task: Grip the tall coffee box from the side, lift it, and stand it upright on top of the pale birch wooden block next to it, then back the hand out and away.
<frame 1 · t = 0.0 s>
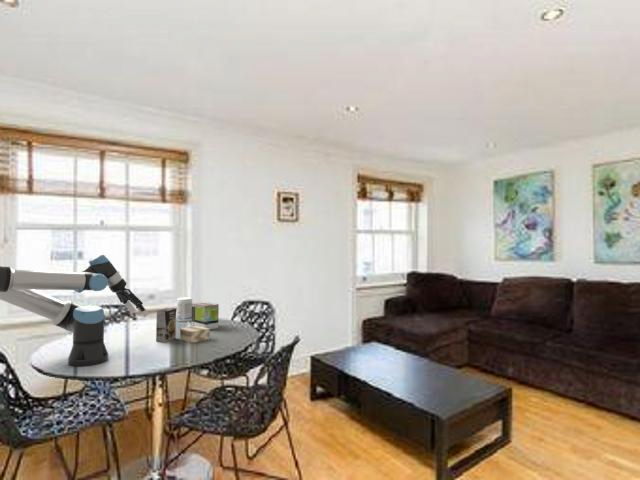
hand: (140, 313, 206), 15 cm above the table, tool tilted 35°, fingers open, 13 cm apart
tea box: (204, 327, 245), on the table
birch block: (194, 339, 216), on the table
coffee box: (166, 340, 215), on the table
supplement tub: (184, 320, 266), on the table
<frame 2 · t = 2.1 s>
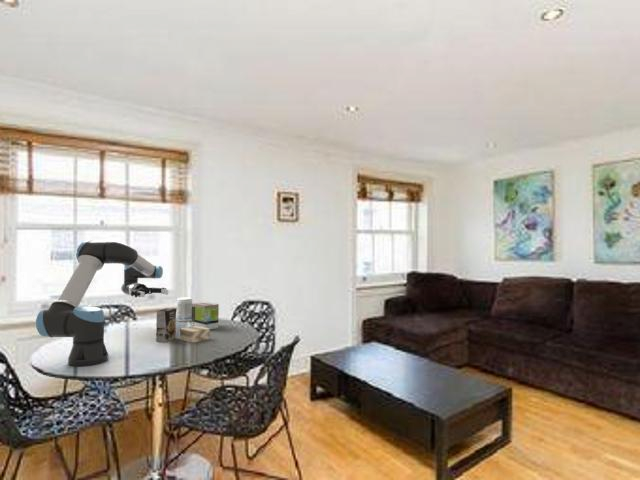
hand: (156, 293, 222), 24 cm above the table, tool horizontal, fingers open, 13 cm apart
nothing on the table moved.
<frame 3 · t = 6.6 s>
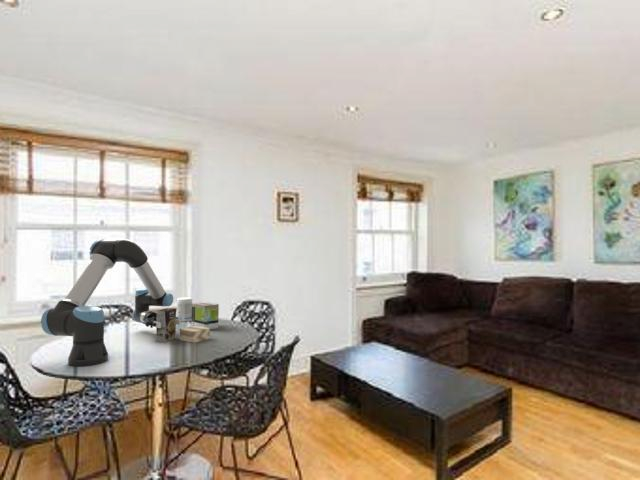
hand: (170, 323, 212), 9 cm above the table, tool horizontal, fingers closed on coffee box, 11 cm apart
coffee box: (166, 340, 215), on the table, touching gripper
everything else where it was.
when the fingers open (16 cm above the table, at t = 11.5 s): coffee box drops 2 cm, resting on birch block.
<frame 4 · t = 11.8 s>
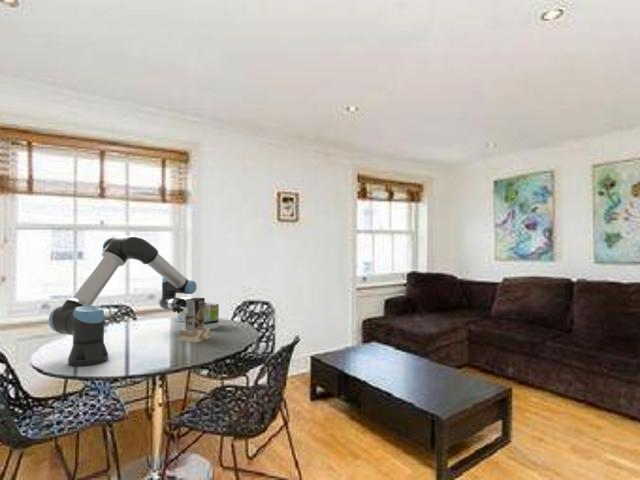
hand: (198, 309, 214), 16 cm above the table, tool horizontal, fingers open, 13 cm apart
birch block: (195, 339, 216), on the table, touching coffee box
coffee box: (195, 328, 216), point 6 cm above the table, touching birch block
everything else where it was.
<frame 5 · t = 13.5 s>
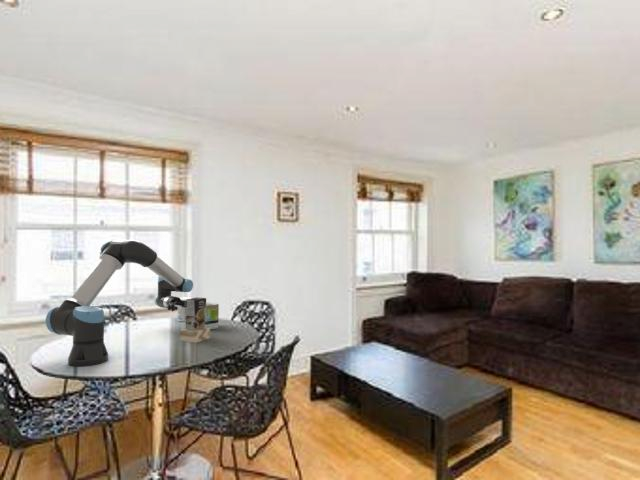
hand: (192, 307, 219), 17 cm above the table, tool horizontal, fingers open, 13 cm apart
birch block: (195, 339, 216), on the table
coffee box: (195, 328, 216), point 6 cm above the table
everything else where it was.
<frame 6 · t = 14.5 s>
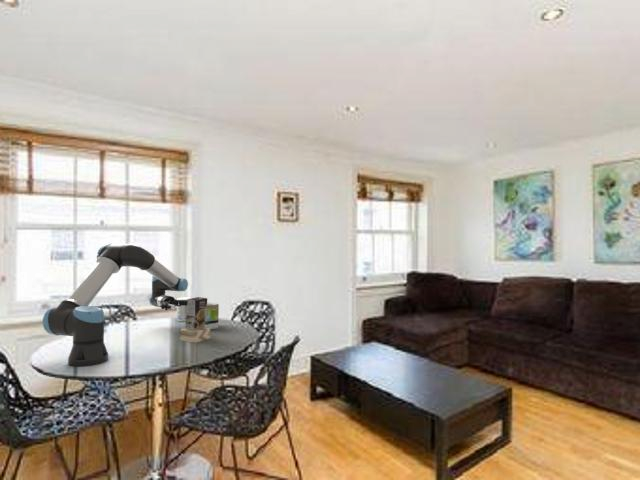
hand: (186, 306, 222), 17 cm above the table, tool horizontal, fingers open, 13 cm apart
nothing on the table moved.
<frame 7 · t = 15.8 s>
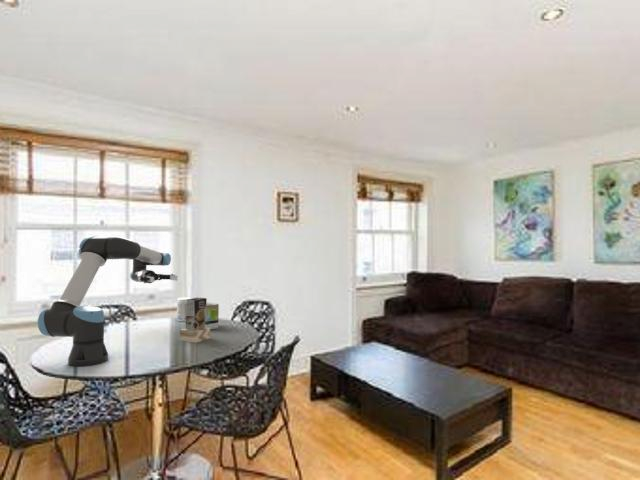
hand: (165, 278, 222), 32 cm above the table, tool horizontal, fingers open, 13 cm apart
birch block: (195, 339, 216), on the table, touching coffee box
coffee box: (195, 328, 216), point 6 cm above the table, touching birch block
everything else where it was.
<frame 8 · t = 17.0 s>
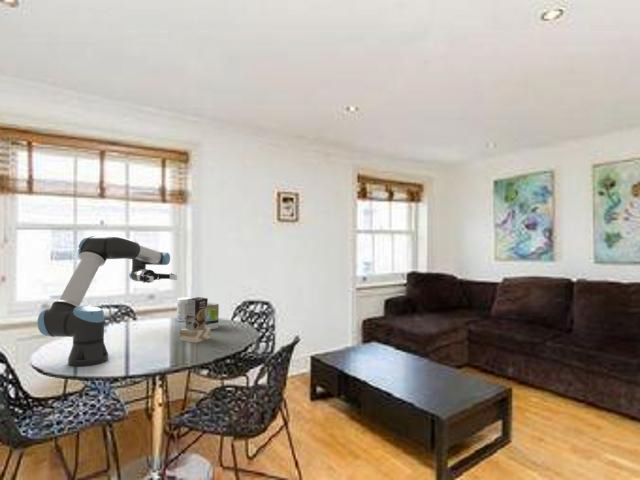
hand: (164, 278, 222), 32 cm above the table, tool horizontal, fingers open, 13 cm apart
nothing on the table moved.
at the end: coffee box inside the target area on the birch block (0.3 cm from its centre), point 6.0 cm above the birch block's base; coffee box tilted 3°; the gripper is holding nothing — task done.
